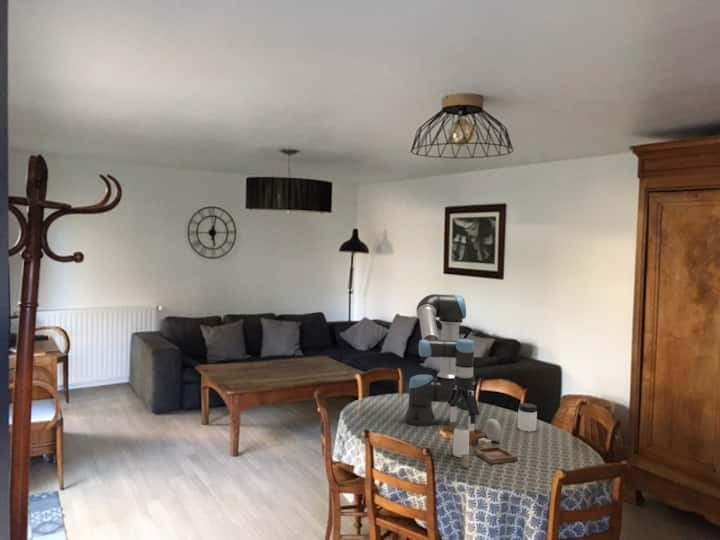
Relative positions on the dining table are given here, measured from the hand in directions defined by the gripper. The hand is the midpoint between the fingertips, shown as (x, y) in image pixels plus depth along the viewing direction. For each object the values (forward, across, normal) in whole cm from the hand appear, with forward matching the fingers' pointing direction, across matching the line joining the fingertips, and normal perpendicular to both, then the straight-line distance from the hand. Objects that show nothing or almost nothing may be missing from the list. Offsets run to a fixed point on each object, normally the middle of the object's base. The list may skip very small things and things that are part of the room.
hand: (461, 426), depth 239 cm
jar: (+12, -21, +52) cm, 58 cm away
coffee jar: (+12, -63, +44) cm, 78 cm away
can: (+13, 0, 0) cm, 13 cm away
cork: (+13, +11, -5) cm, 17 cm away
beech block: (+13, -4, +15) cm, 20 cm away
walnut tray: (+13, +6, +13) cm, 19 cm away
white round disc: (+12, -12, +25) cm, 31 cm away
